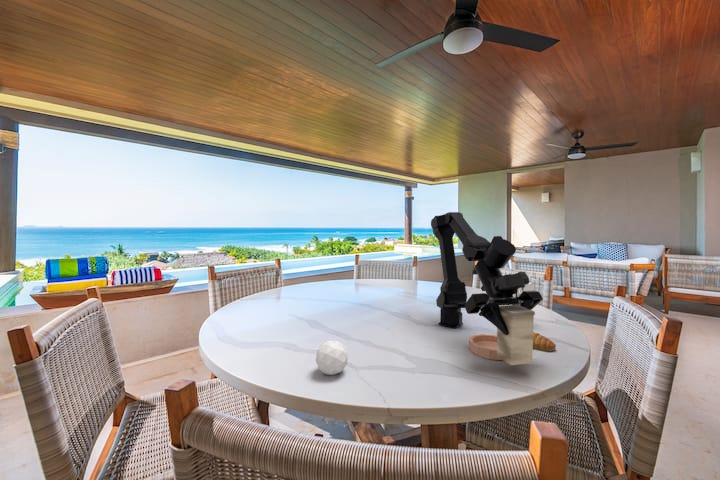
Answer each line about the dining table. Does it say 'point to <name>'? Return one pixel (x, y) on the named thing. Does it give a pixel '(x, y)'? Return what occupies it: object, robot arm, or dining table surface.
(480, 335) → the terracotta bowl
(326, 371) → the geometric ball
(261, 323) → the dining table surface
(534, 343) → the pastry
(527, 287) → the beer glass
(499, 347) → the lidded square box
